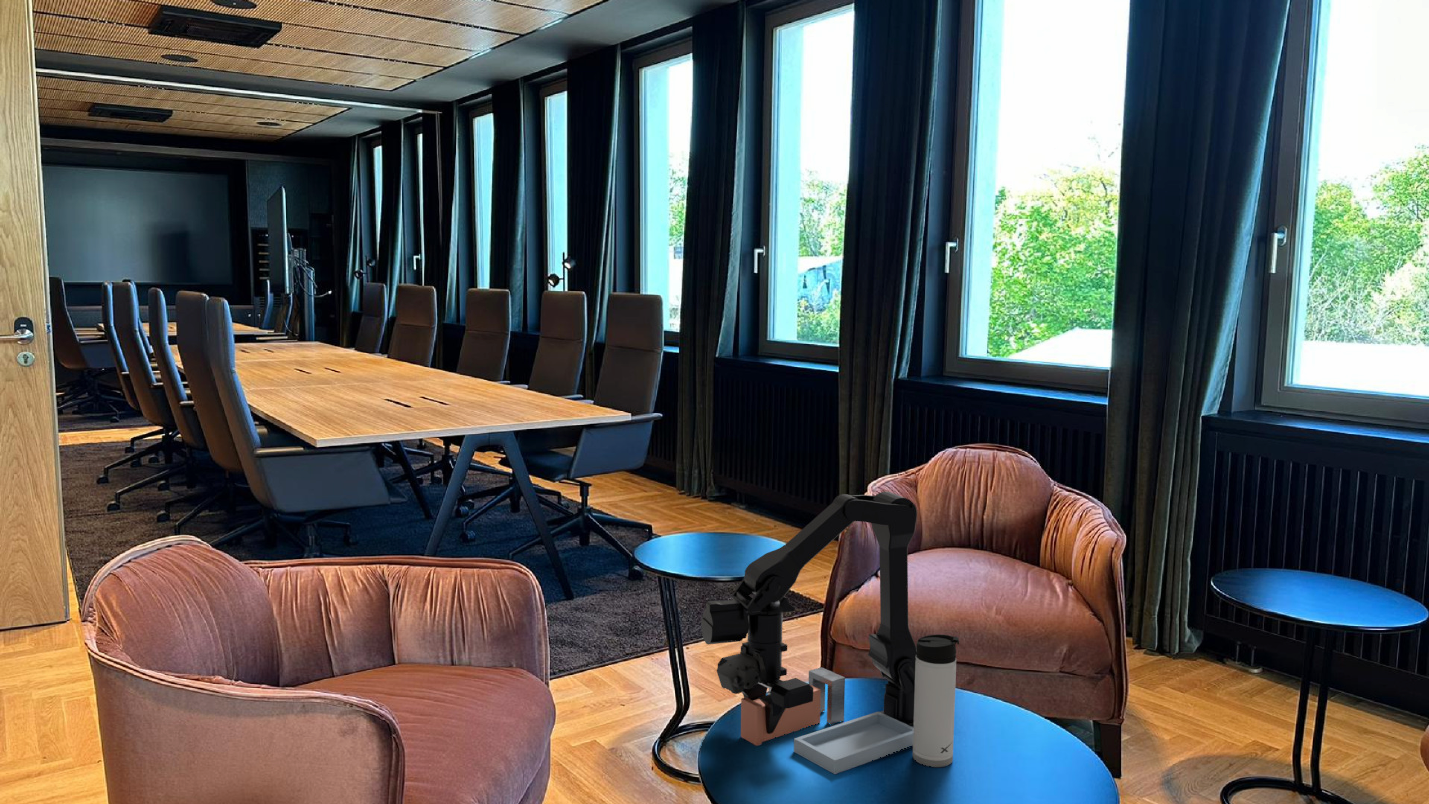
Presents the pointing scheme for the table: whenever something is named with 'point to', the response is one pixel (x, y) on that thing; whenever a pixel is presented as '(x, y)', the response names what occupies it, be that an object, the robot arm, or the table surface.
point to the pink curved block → (789, 721)
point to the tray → (854, 742)
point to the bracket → (830, 693)
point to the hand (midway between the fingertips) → (763, 729)
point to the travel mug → (934, 700)
